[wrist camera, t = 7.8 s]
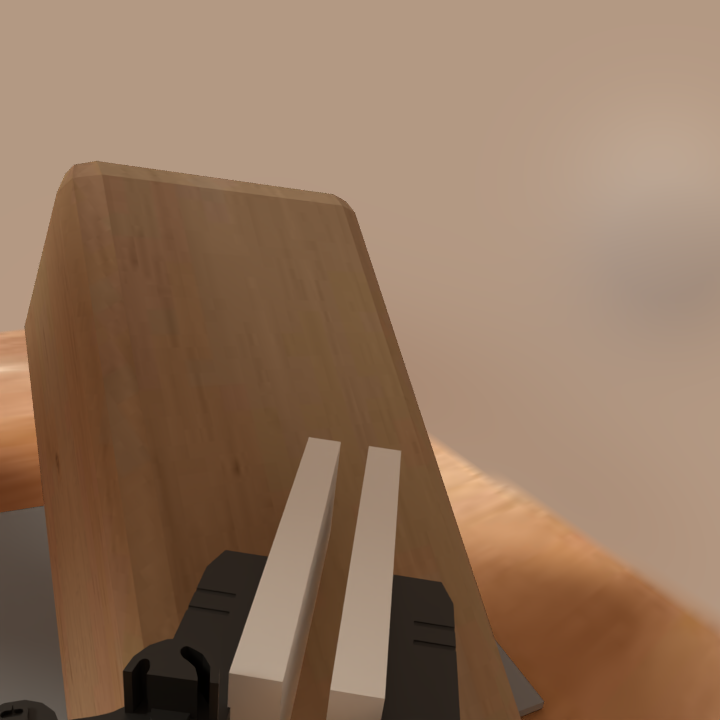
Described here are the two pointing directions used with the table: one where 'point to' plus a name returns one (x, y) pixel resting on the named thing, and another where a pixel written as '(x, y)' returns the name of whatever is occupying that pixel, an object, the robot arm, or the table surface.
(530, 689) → the rubber mat
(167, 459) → the wooden block
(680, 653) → the table surface
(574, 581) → the table surface
